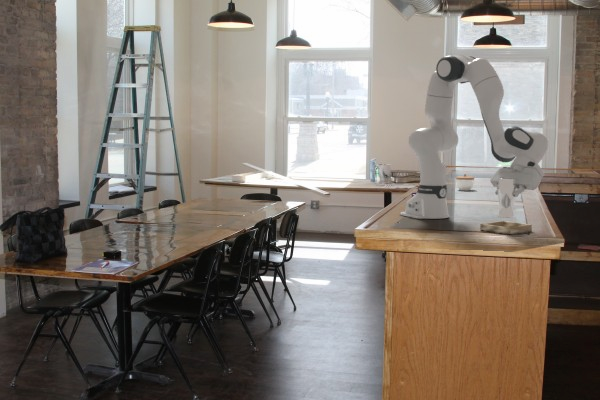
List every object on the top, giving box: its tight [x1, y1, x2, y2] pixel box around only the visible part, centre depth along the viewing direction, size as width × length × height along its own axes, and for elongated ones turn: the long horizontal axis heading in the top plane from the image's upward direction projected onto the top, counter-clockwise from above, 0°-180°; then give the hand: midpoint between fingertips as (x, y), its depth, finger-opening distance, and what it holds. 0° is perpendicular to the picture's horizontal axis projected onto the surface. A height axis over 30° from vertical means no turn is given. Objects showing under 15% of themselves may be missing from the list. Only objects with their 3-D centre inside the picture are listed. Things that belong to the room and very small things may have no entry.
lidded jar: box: [455, 173, 475, 191], centre depth 442 cm, size 11×11×9 cm
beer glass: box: [497, 177, 517, 219], centre depth 286 cm, size 7×7×15 cm
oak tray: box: [479, 220, 533, 235], centre depth 287 cm, size 14×14×3 cm
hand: (505, 195), depth 285 cm, fingers closed on beer glass, 7 cm apart
